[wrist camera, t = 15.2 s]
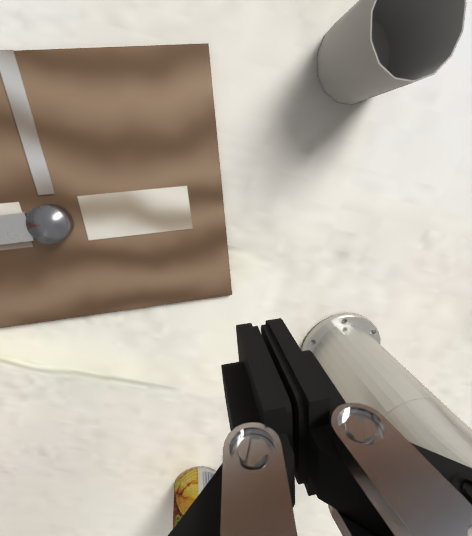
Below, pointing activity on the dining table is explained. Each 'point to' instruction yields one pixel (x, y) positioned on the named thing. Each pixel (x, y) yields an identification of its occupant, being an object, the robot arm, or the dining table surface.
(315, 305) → the dining table surface
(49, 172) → the board
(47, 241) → the arm
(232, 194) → the dining table surface
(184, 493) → the canned food
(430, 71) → the cup
